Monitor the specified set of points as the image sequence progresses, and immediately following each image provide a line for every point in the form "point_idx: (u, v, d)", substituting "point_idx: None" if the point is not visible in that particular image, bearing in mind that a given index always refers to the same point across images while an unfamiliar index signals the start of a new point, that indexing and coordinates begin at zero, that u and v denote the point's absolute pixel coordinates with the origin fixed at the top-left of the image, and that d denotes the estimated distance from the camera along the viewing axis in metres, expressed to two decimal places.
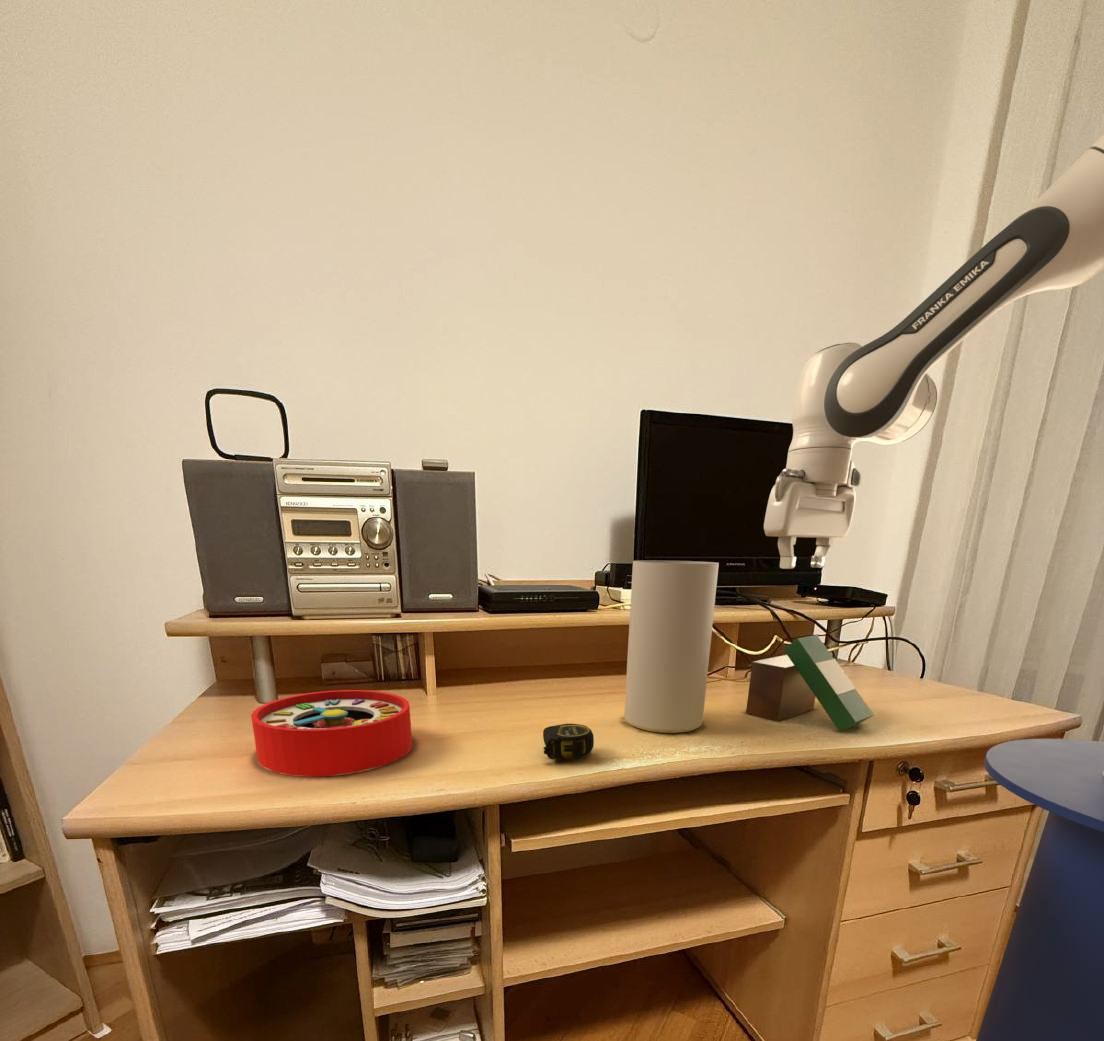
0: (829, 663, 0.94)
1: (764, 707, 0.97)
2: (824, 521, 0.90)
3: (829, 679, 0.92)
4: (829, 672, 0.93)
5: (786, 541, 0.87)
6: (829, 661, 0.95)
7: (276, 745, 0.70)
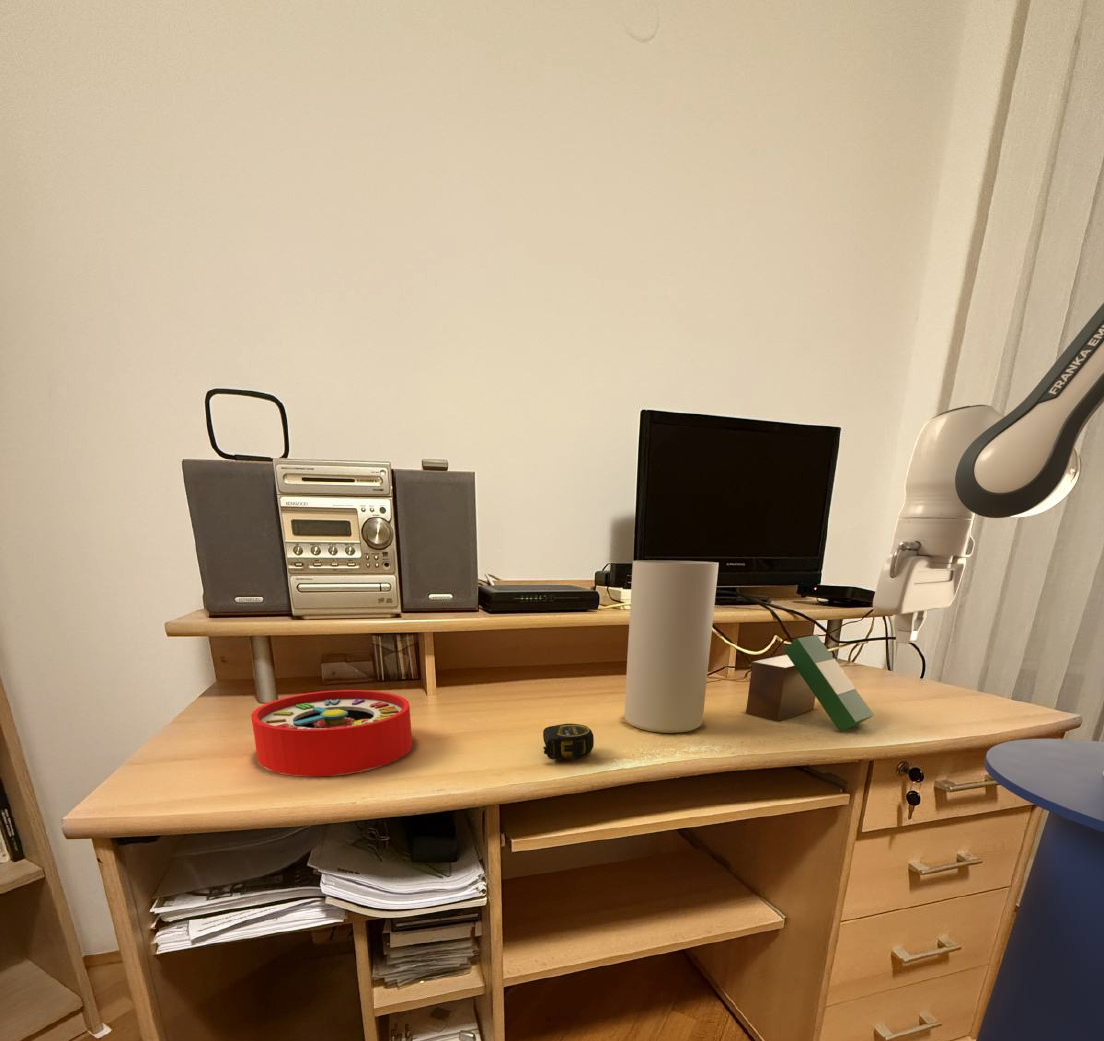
0: (829, 663, 0.94)
1: (764, 707, 0.97)
2: (934, 594, 0.82)
3: (829, 679, 0.92)
4: (829, 672, 0.93)
5: (907, 616, 0.81)
6: (829, 661, 0.95)
7: (276, 745, 0.70)
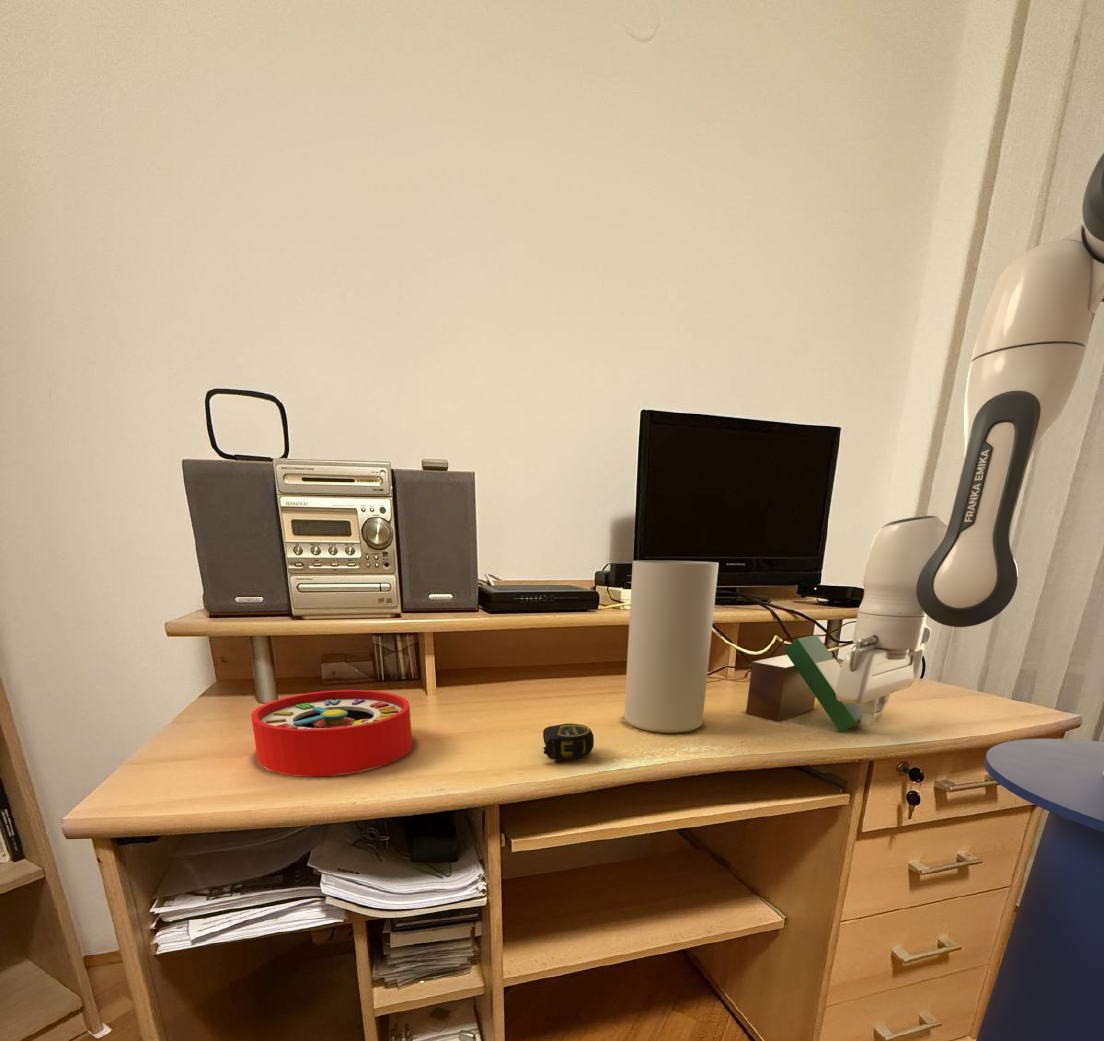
0: (829, 663, 0.94)
1: (764, 707, 0.97)
2: (894, 680, 0.88)
3: (828, 679, 0.92)
4: (829, 672, 0.93)
5: (869, 701, 0.87)
6: (829, 661, 0.95)
7: (276, 745, 0.70)
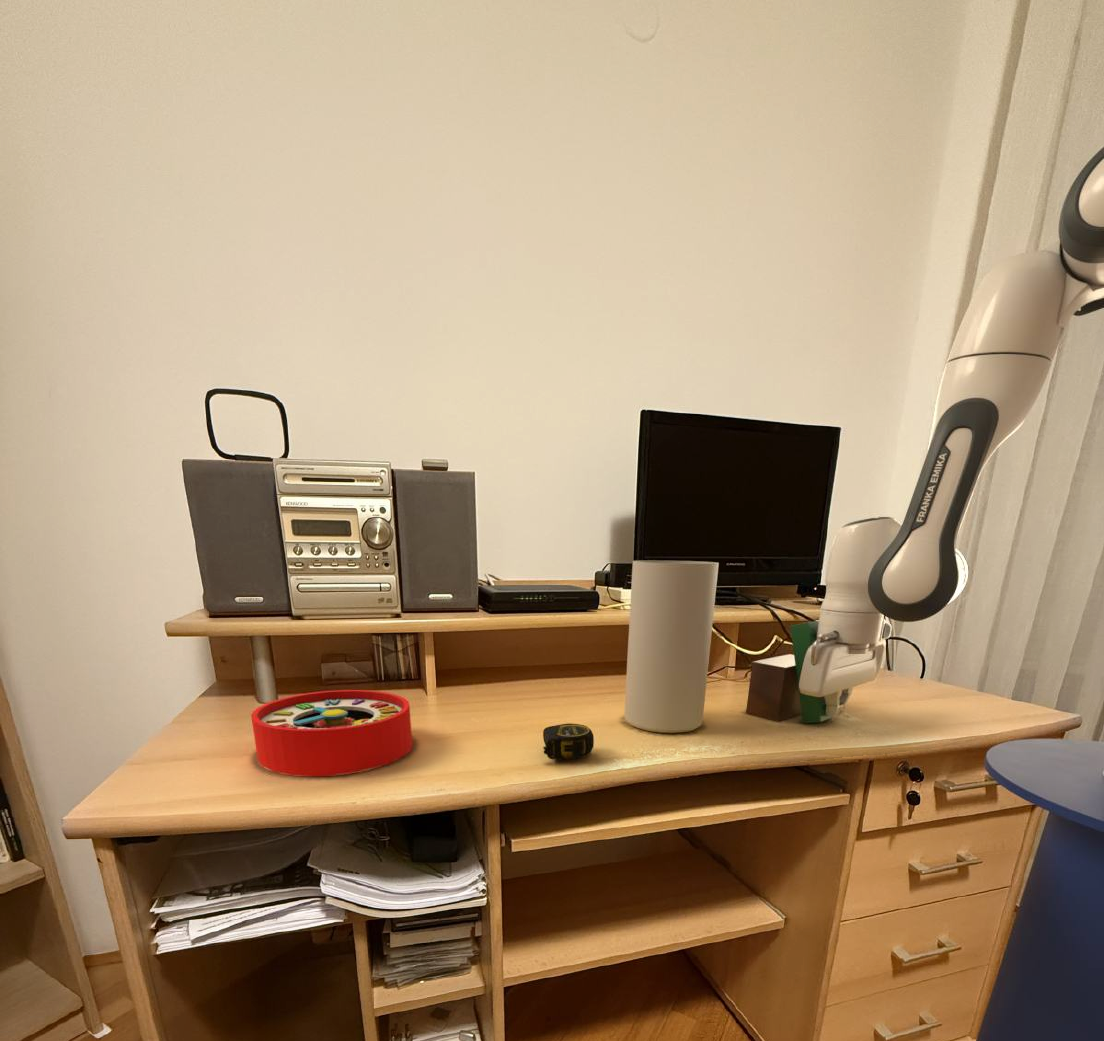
0: None
1: (764, 707, 0.97)
2: (856, 673, 0.92)
3: None
4: None
5: (832, 694, 0.92)
6: None
7: (276, 745, 0.70)
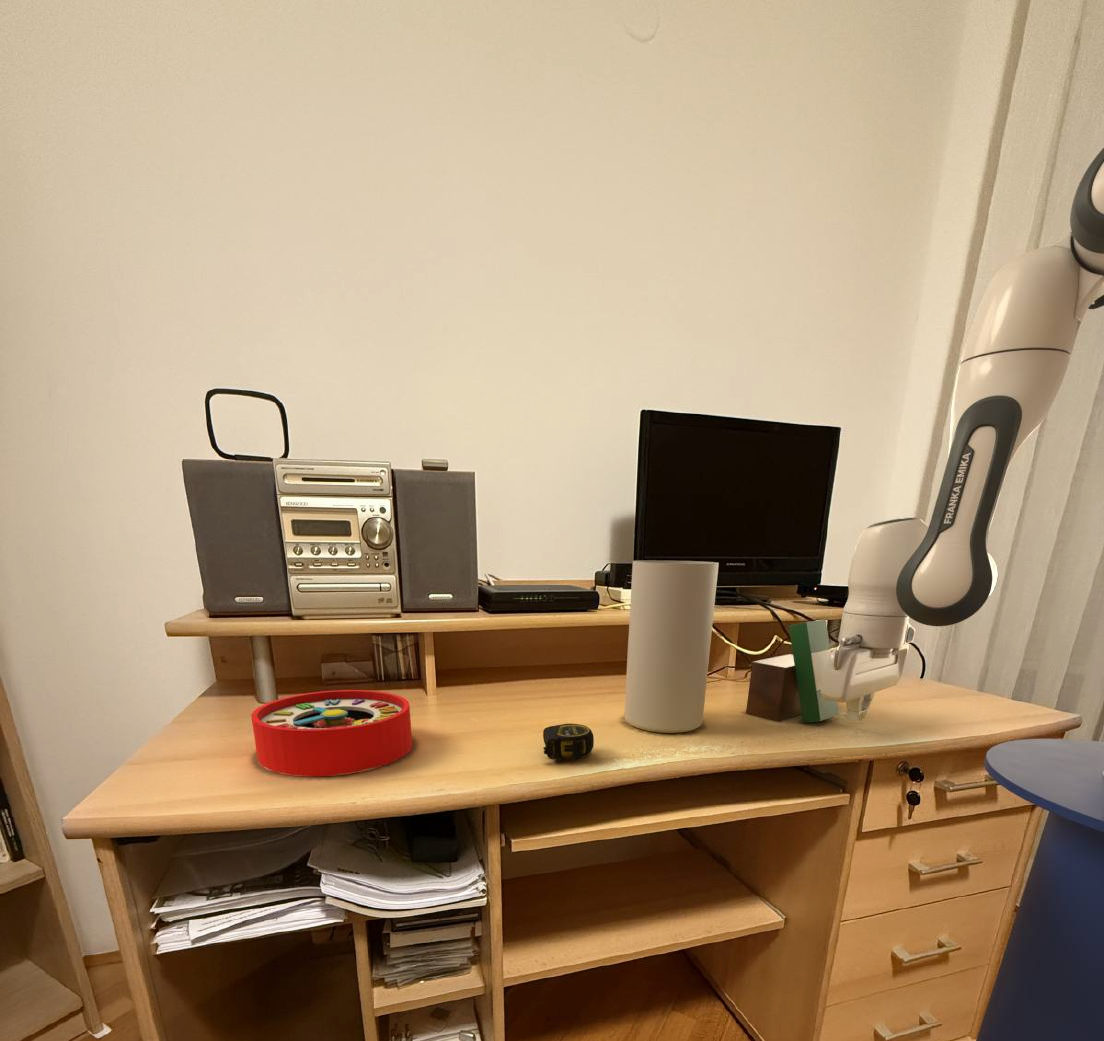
0: (823, 654, 0.95)
1: (764, 707, 0.97)
2: (879, 678, 0.90)
3: (816, 672, 0.93)
4: (819, 665, 0.94)
5: (854, 699, 0.89)
6: (824, 652, 0.95)
7: (276, 745, 0.70)
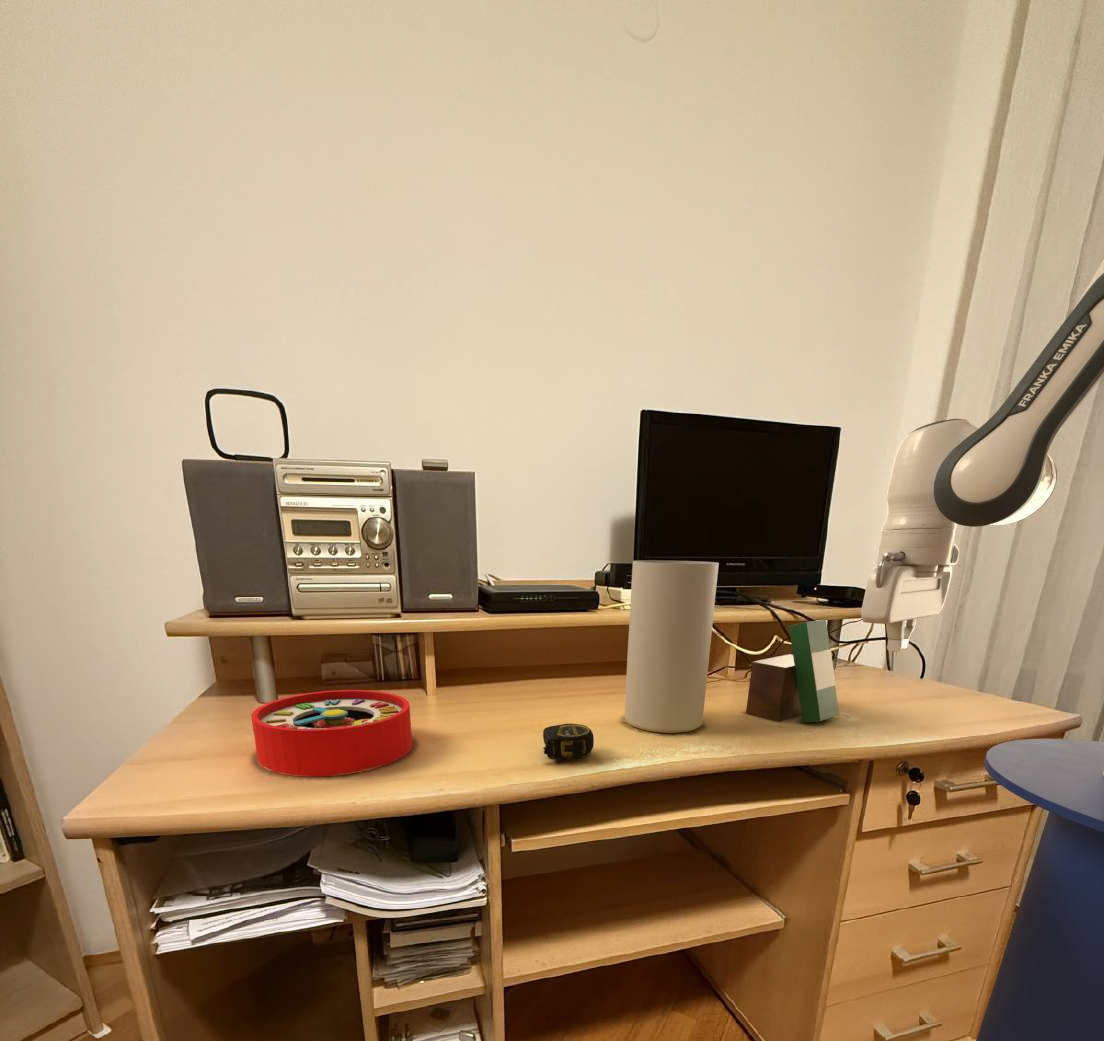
0: (823, 654, 0.95)
1: (764, 707, 0.97)
2: (922, 602, 0.83)
3: (816, 672, 0.93)
4: (819, 665, 0.94)
5: (896, 625, 0.83)
6: (824, 652, 0.95)
7: (276, 745, 0.70)
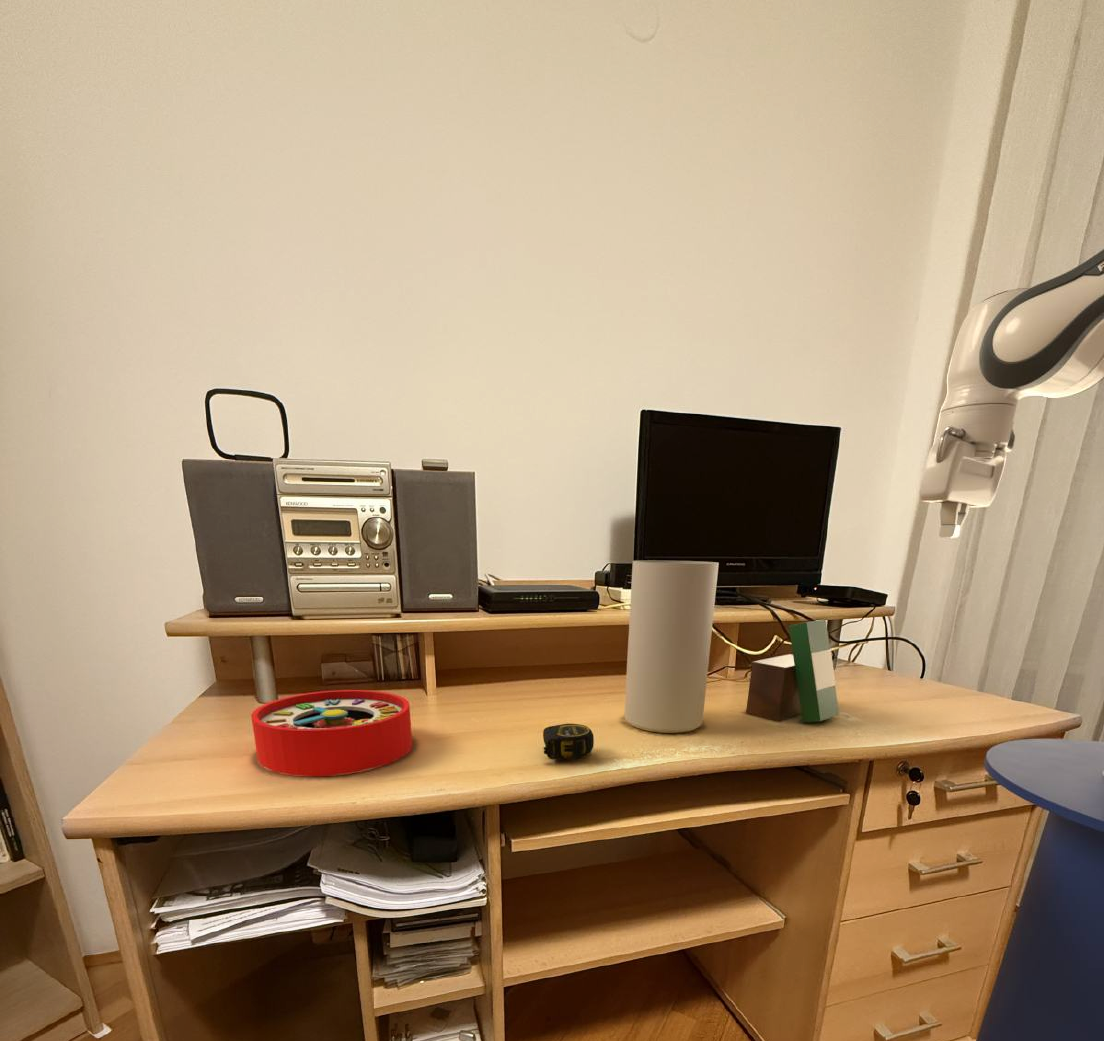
0: (823, 654, 0.95)
1: (764, 707, 0.97)
2: (977, 487, 0.84)
3: (816, 672, 0.93)
4: (819, 665, 0.94)
5: (951, 508, 0.83)
6: (824, 652, 0.95)
7: (276, 745, 0.70)
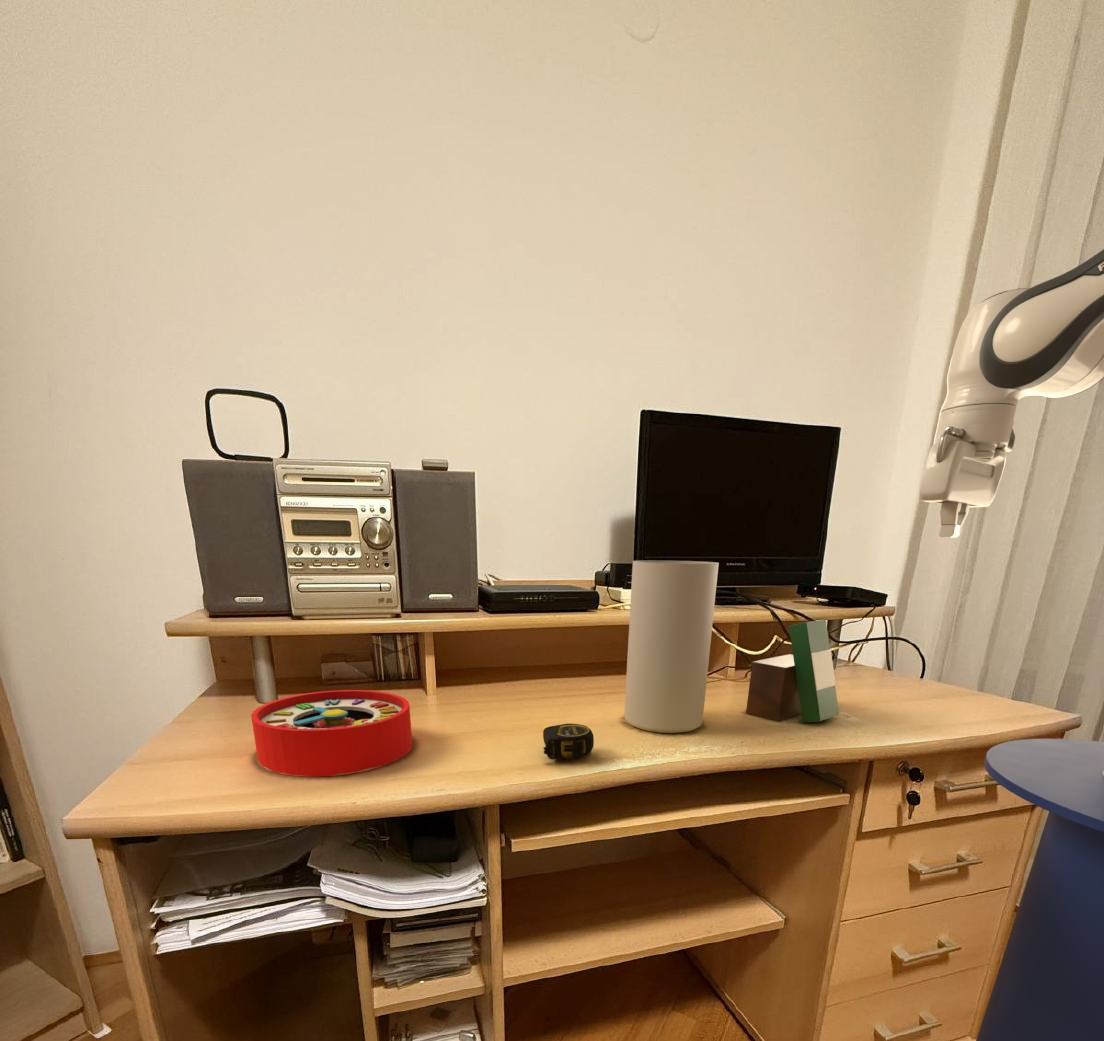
0: (823, 654, 0.95)
1: (764, 707, 0.97)
2: (977, 486, 0.84)
3: (816, 672, 0.93)
4: (819, 665, 0.94)
5: (951, 508, 0.83)
6: (824, 652, 0.95)
7: (276, 745, 0.70)
